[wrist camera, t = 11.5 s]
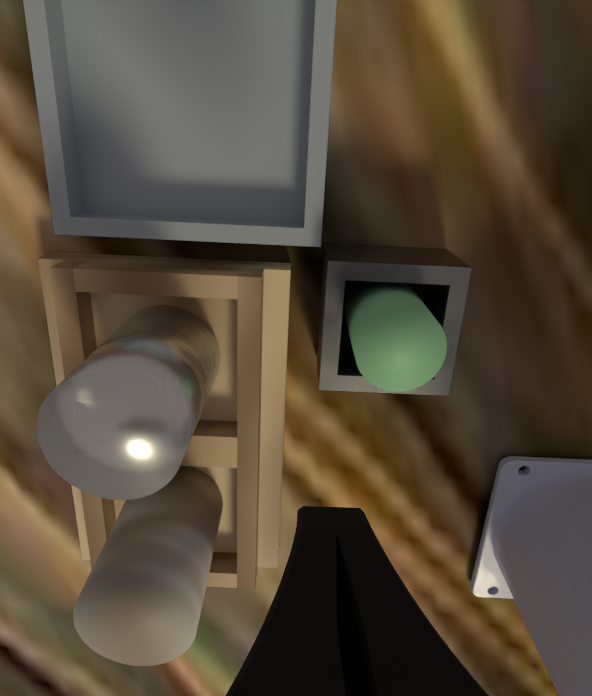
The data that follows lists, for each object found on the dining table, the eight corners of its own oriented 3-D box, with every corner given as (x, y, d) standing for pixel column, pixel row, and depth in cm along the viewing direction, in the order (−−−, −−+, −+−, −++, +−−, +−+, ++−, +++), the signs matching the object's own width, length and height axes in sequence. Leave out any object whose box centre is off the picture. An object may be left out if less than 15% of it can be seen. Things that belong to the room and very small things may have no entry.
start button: (421, 274, 19) (453, 309, 15) (412, 344, 20) (439, 393, 16) (347, 271, 19) (359, 304, 15) (341, 341, 20) (350, 389, 16)
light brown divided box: (291, 262, 19) (285, 327, 12) (278, 548, 24) (270, 701, 18) (53, 251, 19) (-81, 310, 12) (92, 540, 24) (14, 691, 18)
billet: (221, 309, 19) (183, 379, 13) (219, 405, 20) (185, 505, 14) (112, 301, 19) (28, 367, 13) (118, 397, 20) (45, 494, 14)
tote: (337, -60, 15) (342, -85, 14) (319, 237, 19) (321, 246, 17) (41, -76, 15) (9, -103, 14) (76, 225, 19) (54, 234, 17)
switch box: (446, 249, 19) (471, 267, 16) (428, 361, 21) (448, 395, 18) (323, 243, 19) (328, 260, 16) (316, 356, 21) (318, 389, 18)
